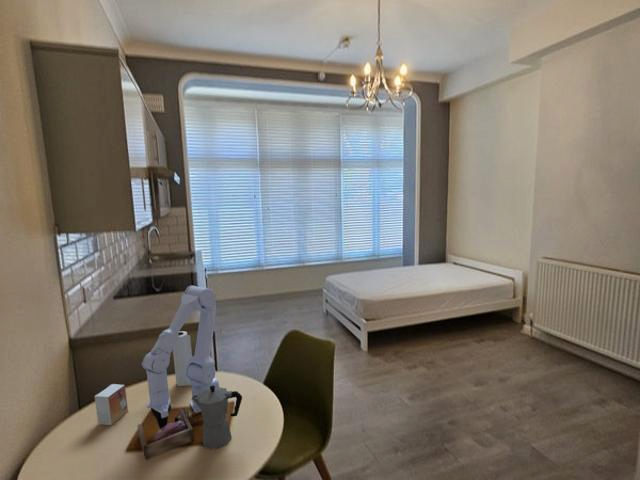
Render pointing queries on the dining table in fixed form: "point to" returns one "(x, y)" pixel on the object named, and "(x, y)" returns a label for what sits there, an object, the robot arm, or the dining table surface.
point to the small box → (111, 404)
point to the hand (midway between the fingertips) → (162, 426)
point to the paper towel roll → (182, 358)
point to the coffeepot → (216, 415)
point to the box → (166, 440)
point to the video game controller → (169, 430)
